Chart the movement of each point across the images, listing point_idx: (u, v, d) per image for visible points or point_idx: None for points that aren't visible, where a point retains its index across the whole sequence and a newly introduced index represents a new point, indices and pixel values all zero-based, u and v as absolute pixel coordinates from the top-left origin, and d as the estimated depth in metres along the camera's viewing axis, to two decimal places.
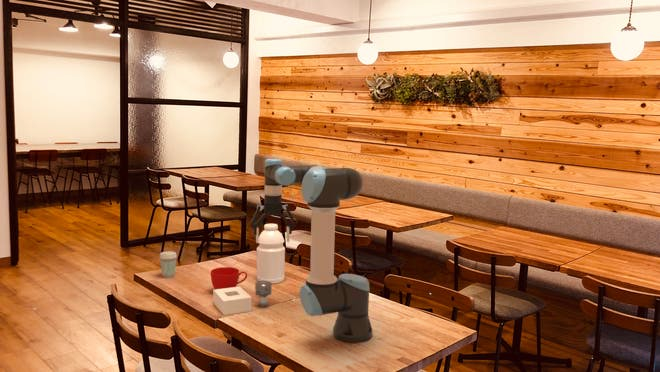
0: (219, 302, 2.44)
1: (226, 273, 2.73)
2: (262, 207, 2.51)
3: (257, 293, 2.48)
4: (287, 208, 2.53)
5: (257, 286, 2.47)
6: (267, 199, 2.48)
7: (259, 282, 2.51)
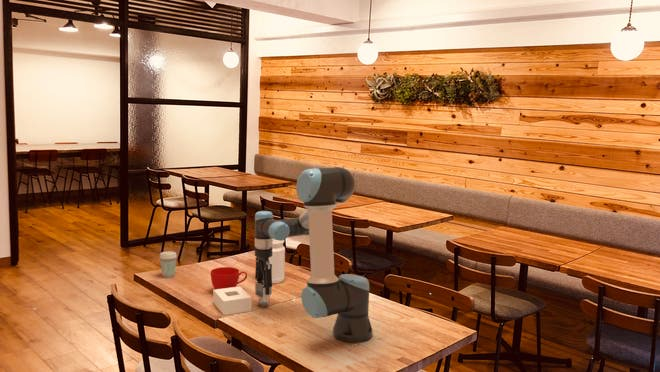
0: (219, 302, 2.44)
1: (226, 273, 2.73)
2: None
3: (257, 293, 2.48)
4: (265, 267, 2.43)
5: (257, 286, 2.47)
6: None
7: (259, 282, 2.51)
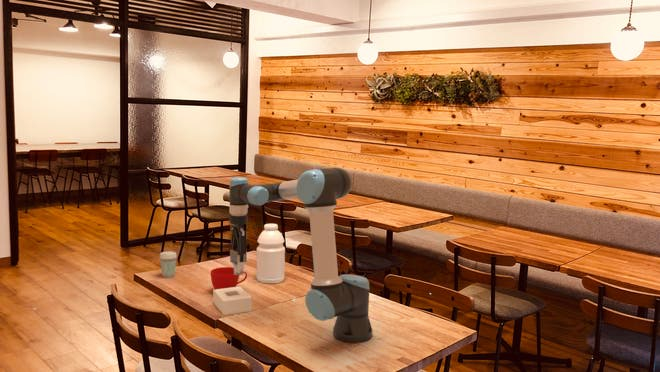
0: (219, 302, 2.44)
1: (226, 273, 2.73)
2: (234, 226, 2.48)
3: (232, 260, 2.44)
4: (239, 234, 2.39)
5: (232, 253, 2.44)
6: None
7: (234, 250, 2.47)
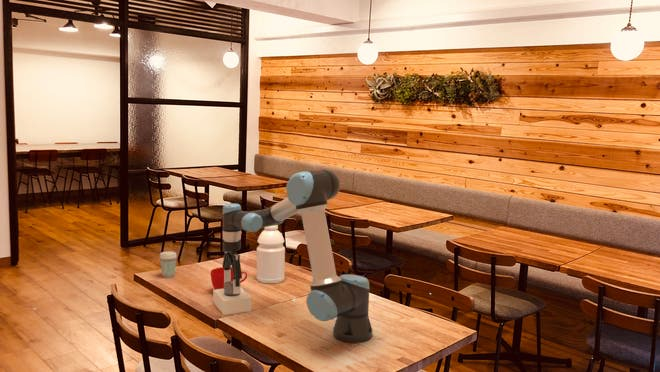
0: (219, 302, 2.44)
1: None
2: (227, 250, 2.49)
3: (225, 293, 2.45)
4: (233, 258, 2.39)
5: (225, 286, 2.44)
6: None
7: (228, 282, 2.48)
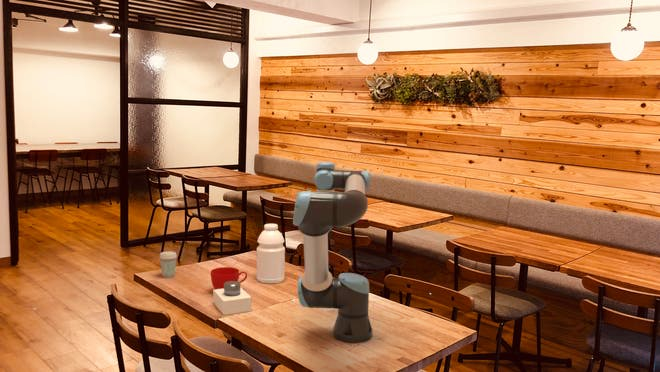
0: (219, 302, 2.44)
1: (226, 273, 2.73)
2: None
3: (225, 293, 2.45)
4: None
5: (225, 286, 2.44)
6: None
7: (228, 282, 2.48)
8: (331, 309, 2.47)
